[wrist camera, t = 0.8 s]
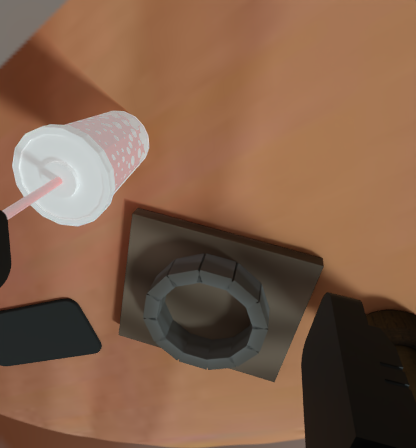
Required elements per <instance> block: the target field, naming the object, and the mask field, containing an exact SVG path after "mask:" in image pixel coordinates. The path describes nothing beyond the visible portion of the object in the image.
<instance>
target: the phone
mask: <svg viewBox="0 0 416 448" xmlns="http://www.w3.org/2000/svg"><path fill="white" fill-rule="evenodd" d="M101 347H102V345H101V342H100V340H99V338H98V337H97V335H96V333H95V331H94V330H93V328H92V326H91V325H90V323H89V321H88V319H87V318H86V316H85V314H84V313H83V311H82V309H81V308H80V306H79V305H78V303H77V302H75V301H74V300H72V299H60V300H55V301H50V302H45V303H40V304H35V305H29V306H24V307H19V308H14V309H9V310H3V311H0V365H1V366H12V365H19V364H26V363H33V362H40V361H47V360H54V359H61V358H68V357H74V356H81V355H88V354H95V353H98V352H99V351H100V349H101Z"/></svg>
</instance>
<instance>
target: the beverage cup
mask: <svg viewBox="0 0 416 448" xmlns="http://www.w3.org/2000/svg"><path fill="white" fill-rule="evenodd" d="M148 150H149V138H148V134H147V132H146V130H145V128H144V125H143V124H142V123H141V122H140V121H139V120H138V119H137V118H136V117H135V116H133V115H131V114H129V113H127V112H125V111H110V112H107V113H103V114H100V115H96V116H93V117H89V118H86V119H82V120H79V121H76V122H72V123H69V124H65V125H56V124H49V125H47V126H42V127H40V128H38V129H35V130H33V131H31V132H28V133H26V134H25V135H24V136H23V138H22V139H21V140H20V142H19V143H18V144H17V146H16V147H15V151H14V158H13V164H12V167H13V171H14V176H15V180H16V184H17V186H18V188H19V189H20V191H21V193H22V194H23V196H24V198H22V199H20V200H19V201H17V202H16V203H14V204H12V205H11V206H9V207H8V208H6V209H4V210H3V212H4V213H5V214H6V216H7V220H8V219H10V218H11V217H13V216H14V215H16V214H17V213H19V212H20V211H22V210H23V209H25V208H26V207H28V206H29V205H31V206H32V207H33V208H34V209H35V210H36V211H37V212H39V213H40V214H41V215H42V216H43V217H46V218H48V219H50V220H52V221H54V222H56V223H58V224H61V225H71V226H80V225H84V224H87V223H90V222H93V221H95V220H96V219H97V218H98V217H99V216H100V215H101V214H102V213H103V212H104V211H105V210H106V209H107V207H108V206H109V205H110V204H111V201H112V198H113V195H114V193H115V192H116V191H117V190H118V189H119V188H120V187H121V185H122V184H123V183H124V182H125V181H126V180H127V178H128V177H129V176H130V175H131V174H132V173H133V172H134V170H135V169H136V168H137V167H138V166H139V165H140V164H141V162H142V161H143V160H144V159H145V158H146V155H147V152H148Z"/></svg>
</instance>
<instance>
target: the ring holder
mask: <svg viewBox="0 0 416 448" xmlns="http://www.w3.org/2000/svg"><path fill="white" fill-rule="evenodd" d="M323 267H324V265H323V258H320V257H316V256H312V255H309V254H305V253H301V252H298V251H294V250H290V249H287V248H283V247H279V246H276V245H272V244H268V243H265V242H261V241H257V240H254V239H250V238H246V237H243V236H239V235H235V234H232V233H228V232H225V231H221V230H217V229H214V228H210V227H206V226H203V225H199V224H195V223H192V222H188V221H184V220H181V219H177V218H173V217H170V216H166V215H162V214H159V213H155V212H151V211H148V210H144V209H140V208H137V209H136V210H135V211H134V212H133V214H132V222H131V231H130V240H129V248H128V257H127V266H126V275H125V284H124V292H123V301H122V310H121V319H120V328H119V335H120V336H124V337H127V338H130V339H134V340H137V341H140V342H144V343H147V344H150V345H153V346H157V347H160V348H162V349H163V350H165V351H166V352H167V353H169V354H170V355H171V356H172V357H174V358H175V359H176V360H178V359H179V361H180V362H183V363H186V364H190V365H193V366H196V367H200V368H203V369H207V368H208V370H212V369H223V368H229V369H233V370H236V371H239V372H243V373H246V374H249V375H253V376H256V377H259V378H263V379H266V380H269V381H272V382H275V379H276V377H277V375H278V372H279V370H280V368H281V365H282V363H283V361H284V358H285V356H286V354H287V351H288V349H289V347H290V344H291V342H292V339H293V337H294V335H295V332H296V330H297V328H298V325H299V323H300V321H301V318H302V316H303V314H304V311H305V309H306V307H307V304H308V302H309V300H310V297H311V295H312V292H313V290H314V288H315V285H316V283H317V281H318V278H319V276H320V274H321V271H322V269H323Z"/></svg>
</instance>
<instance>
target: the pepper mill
mask: <svg viewBox="0 0 416 448" xmlns="http://www.w3.org/2000/svg"><path fill="white" fill-rule="evenodd" d="M366 318H367V321H368V325H370V326H374V327H378V328H381V330H382V331H383V332H384V333H385V335H386V336H387V337H388V338H389V340H390V341H391V342H392V343H393V344H394V346H395V347H396V349H397V352H398V355H399V357H400V360H401V363H402V366H403V372H405V374H406V377H407V380H408V382H409V389H410V390H411V391H412V393H413V396H414V399H415V402H416V316H415V315H413V314H411V313H408V312H404V311H395V310H383V311H377V312H374V313H371V314H368V315H366Z"/></svg>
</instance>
